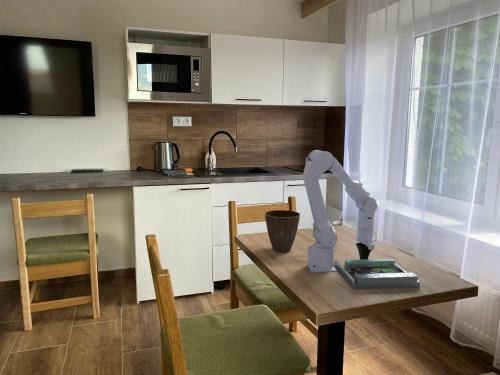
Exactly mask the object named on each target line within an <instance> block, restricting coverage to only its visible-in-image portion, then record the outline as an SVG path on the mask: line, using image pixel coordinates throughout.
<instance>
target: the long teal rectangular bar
mask: <svg viewBox="0 0 500 375" xmlns="http://www.w3.org/2000/svg"><path fill="white" fill-rule="evenodd" d="M395 263H396V261H395V259H393V258H378V259H377V258H375V259H374V258H373V259H371V258H368V259H365V260H360V259H344V269H345V270H346V271H347V272H348V273H353V268H372V267H390V268H391V267H392V268H393V269H394V266H395ZM394 270H395V269H394Z"/></svg>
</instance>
